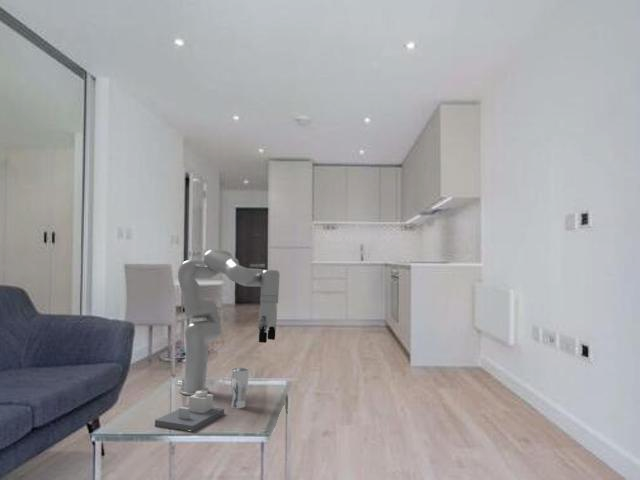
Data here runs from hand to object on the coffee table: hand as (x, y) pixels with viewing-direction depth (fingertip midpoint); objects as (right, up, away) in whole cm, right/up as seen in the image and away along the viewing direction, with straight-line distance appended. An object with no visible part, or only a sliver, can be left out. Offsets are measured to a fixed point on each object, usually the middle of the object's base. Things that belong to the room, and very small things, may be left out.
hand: (267, 340), depth 186 cm
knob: (-24, -23, -16) cm, 36 cm away
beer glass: (-11, -27, -3) cm, 29 cm away
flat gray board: (-25, -24, -22) cm, 41 cm away
